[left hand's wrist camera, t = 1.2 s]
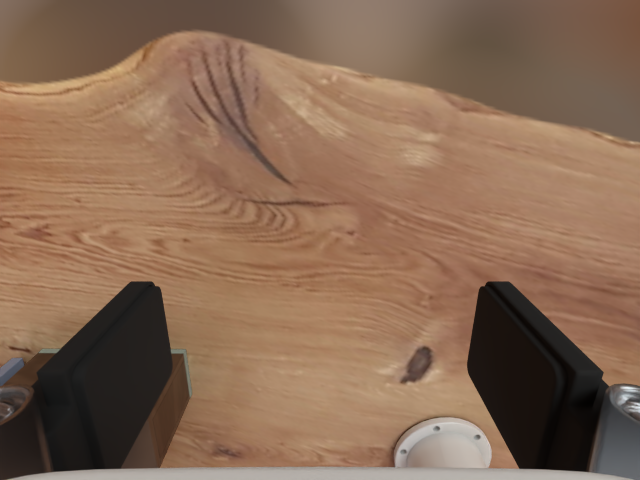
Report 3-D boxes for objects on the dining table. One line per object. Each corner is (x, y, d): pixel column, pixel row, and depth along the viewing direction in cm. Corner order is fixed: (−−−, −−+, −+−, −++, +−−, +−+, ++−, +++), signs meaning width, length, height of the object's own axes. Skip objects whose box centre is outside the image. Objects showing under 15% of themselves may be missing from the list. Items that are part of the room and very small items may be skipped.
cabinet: (55, 393, 48) (-15, 471, 38) (42, 348, 45) (-36, 418, 35) (192, 393, 48) (158, 471, 38) (185, 349, 45) (148, 419, 35)
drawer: (-25, 394, 47) (-100, 458, 38) (-39, 357, 45) (-121, 416, 36) (155, 394, 47) (119, 458, 38) (148, 358, 45) (109, 417, 36)
